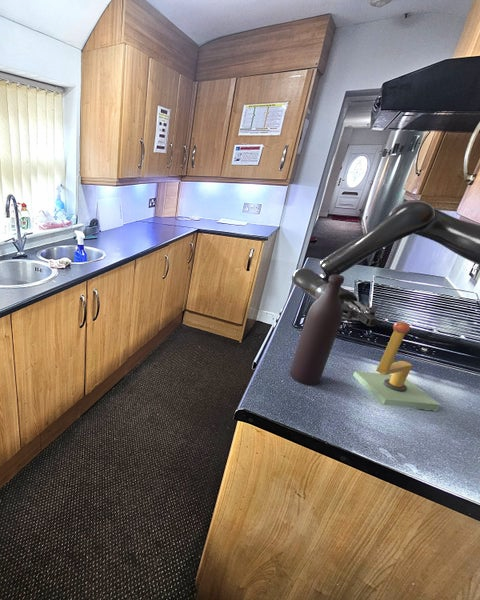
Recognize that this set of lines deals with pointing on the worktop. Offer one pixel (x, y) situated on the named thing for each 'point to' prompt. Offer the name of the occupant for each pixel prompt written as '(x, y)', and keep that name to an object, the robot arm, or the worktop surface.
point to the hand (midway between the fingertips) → (373, 322)
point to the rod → (396, 368)
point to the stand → (395, 391)
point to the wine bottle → (318, 335)
